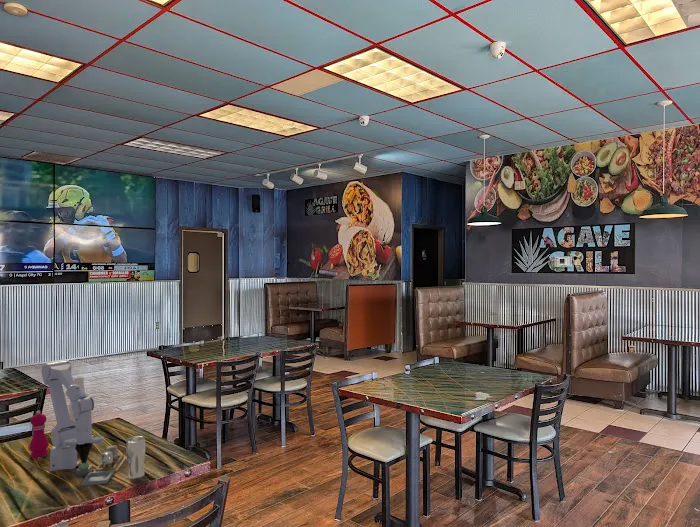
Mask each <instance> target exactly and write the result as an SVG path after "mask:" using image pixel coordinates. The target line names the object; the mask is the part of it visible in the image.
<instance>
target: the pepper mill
mask: <svg viewBox="0 0 700 527" xmlns="http://www.w3.org/2000/svg"><path fill="white" fill-rule="evenodd" d="M46 422H47V416H46V415H45V414H43V413H42V412H41V410H37V411H35V414H34V415H32V416H31V417H30V424H31V425H32V426H31V430H32V431H33V434H32V438H31V441H30V443H29V446H28V447H29V451H31V453H30V458H31V457H32V459H39V458H38V457H41V458H43V457H42V456H44V457H46V456H47V455H48V454H49V453H48V448H49V445H50V444H49V440H48V438H47V437H46V434H45V429H46ZM45 455H46V456H45Z"/></svg>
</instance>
